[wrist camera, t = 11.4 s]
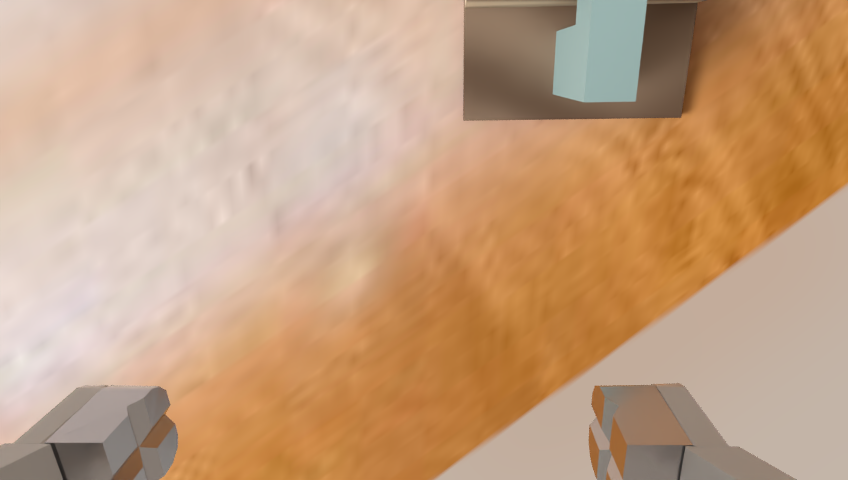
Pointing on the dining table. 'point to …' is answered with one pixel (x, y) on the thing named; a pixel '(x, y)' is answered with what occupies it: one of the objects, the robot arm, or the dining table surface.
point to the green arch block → (601, 52)
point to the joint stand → (535, 56)
